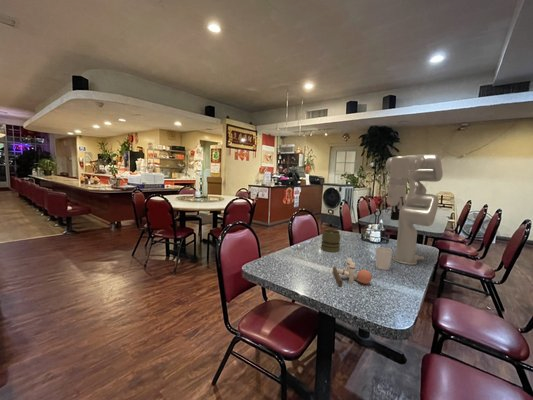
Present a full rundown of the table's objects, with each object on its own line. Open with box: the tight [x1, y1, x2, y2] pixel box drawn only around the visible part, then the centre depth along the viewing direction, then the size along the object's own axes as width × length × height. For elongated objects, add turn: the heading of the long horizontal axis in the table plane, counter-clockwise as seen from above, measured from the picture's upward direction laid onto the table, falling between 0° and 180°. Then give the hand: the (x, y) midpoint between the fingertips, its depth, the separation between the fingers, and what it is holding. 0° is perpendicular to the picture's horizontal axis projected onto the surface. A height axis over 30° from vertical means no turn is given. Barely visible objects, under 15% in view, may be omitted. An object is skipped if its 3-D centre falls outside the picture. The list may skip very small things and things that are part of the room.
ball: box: [356, 269, 373, 285], centre depth 108 cm, size 6×6×6 cm
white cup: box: [375, 246, 393, 271], centre depth 128 cm, size 8×8×10 cm
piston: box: [321, 229, 341, 253], centre depth 156 cm, size 11×12×11 cm
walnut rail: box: [332, 266, 343, 288], centre depth 112 cm, size 1×16×2 cm, turn 174°
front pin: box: [337, 268, 358, 281], centre depth 112 cm, size 2×2×9 cm
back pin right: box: [345, 257, 353, 279], centre depth 113 cm, size 2×2×9 cm
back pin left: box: [348, 261, 356, 284], centre depth 109 cm, size 2×2×9 cm
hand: (394, 219), depth 118 cm, fingers closed
